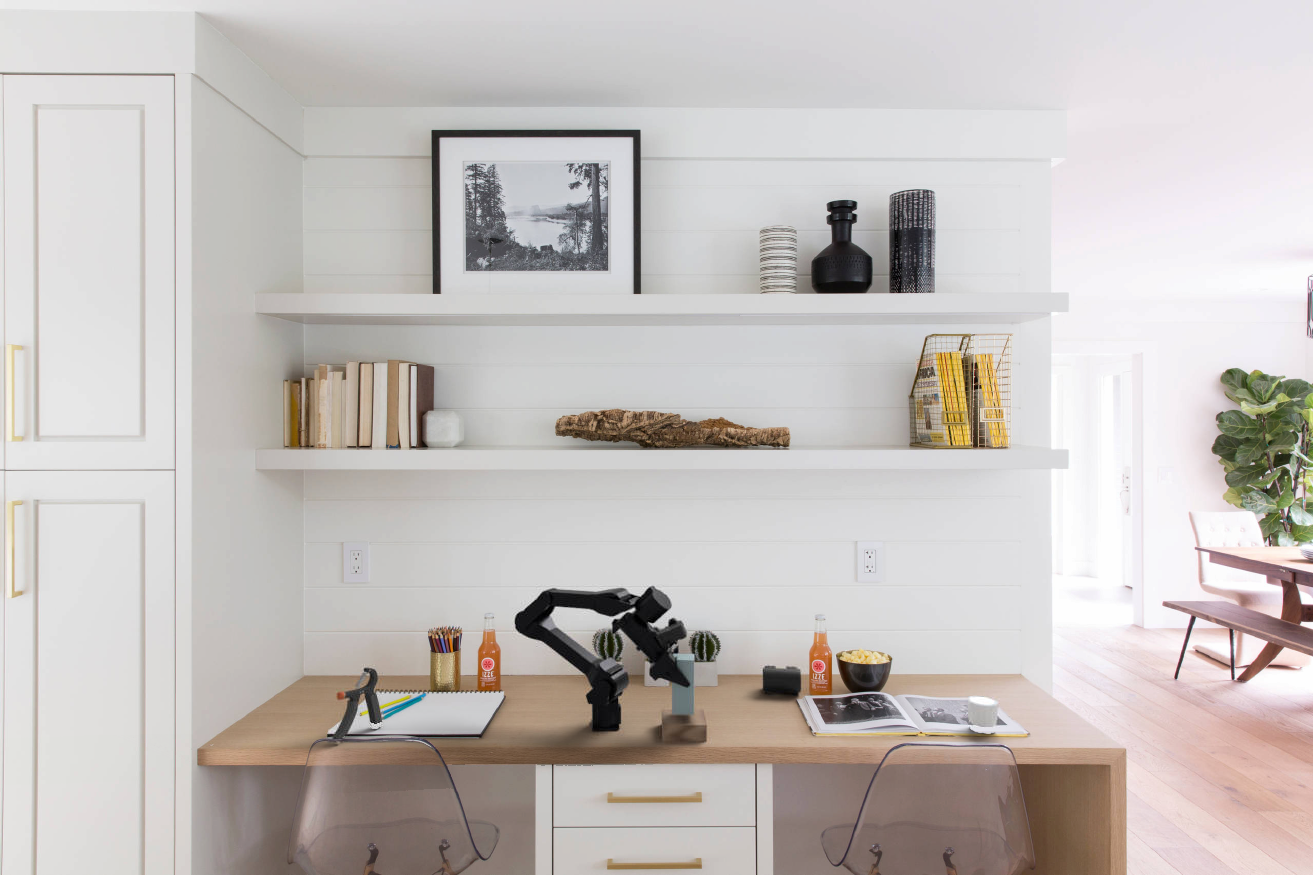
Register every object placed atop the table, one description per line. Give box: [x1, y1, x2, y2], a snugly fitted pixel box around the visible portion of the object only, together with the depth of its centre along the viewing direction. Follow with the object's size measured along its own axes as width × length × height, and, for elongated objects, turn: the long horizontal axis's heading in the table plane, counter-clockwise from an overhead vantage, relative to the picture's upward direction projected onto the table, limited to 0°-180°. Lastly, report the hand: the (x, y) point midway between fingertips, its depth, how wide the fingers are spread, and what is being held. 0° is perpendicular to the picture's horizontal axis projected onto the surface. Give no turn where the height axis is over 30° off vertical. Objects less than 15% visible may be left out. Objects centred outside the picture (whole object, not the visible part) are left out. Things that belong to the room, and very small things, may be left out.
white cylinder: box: [966, 695, 999, 727], centre depth 177 cm, size 7×7×7 cm
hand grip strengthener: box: [331, 667, 383, 740], centre depth 173 cm, size 2×12×15 cm, turn 149°
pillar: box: [671, 653, 695, 715], centre depth 175 cm, size 5×5×12 cm
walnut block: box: [661, 708, 708, 742], centre depth 175 cm, size 10×10×4 cm
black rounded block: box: [762, 665, 802, 695], centre depth 202 cm, size 10×7×7 cm
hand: (689, 682), depth 175 cm, fingers closed on pillar, 5 cm apart
